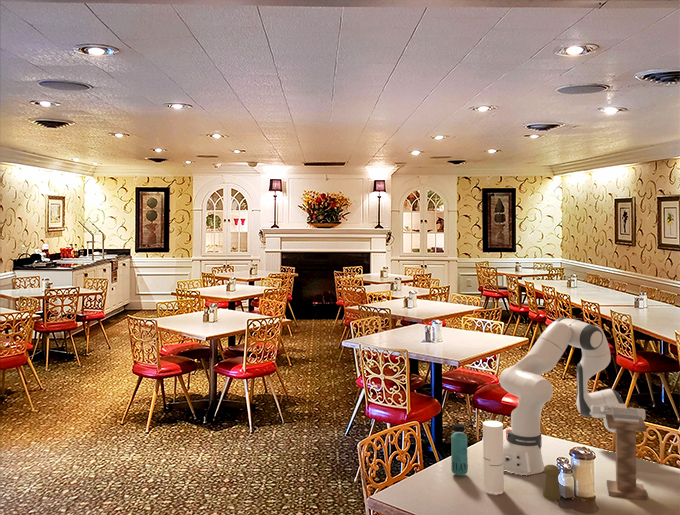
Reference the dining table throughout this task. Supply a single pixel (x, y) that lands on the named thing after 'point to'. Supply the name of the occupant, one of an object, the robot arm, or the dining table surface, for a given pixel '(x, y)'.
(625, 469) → the stand
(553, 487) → the olive shaker
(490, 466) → the cylindrical container
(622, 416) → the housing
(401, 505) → the dining table surface
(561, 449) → the dining table surface
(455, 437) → the beverage bottle
